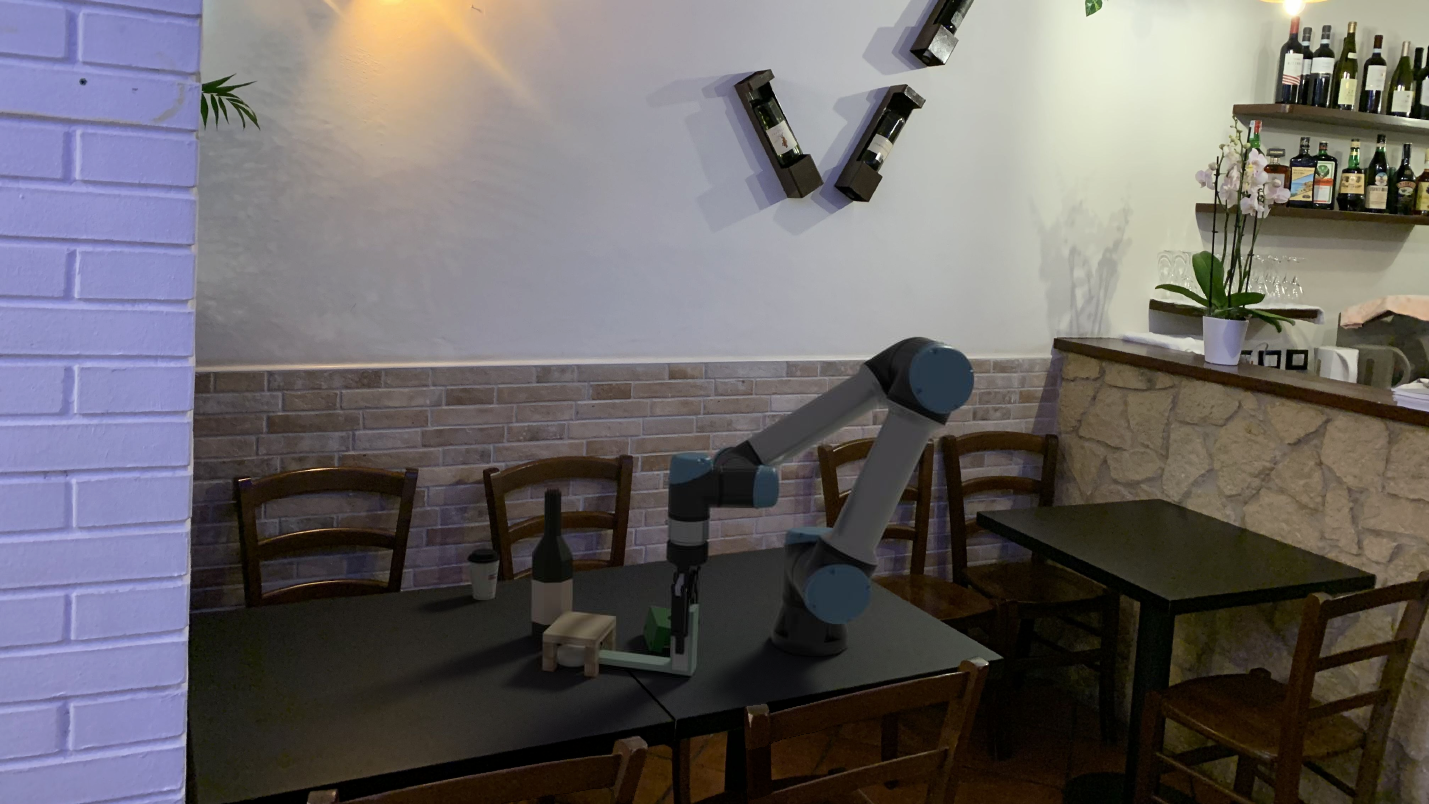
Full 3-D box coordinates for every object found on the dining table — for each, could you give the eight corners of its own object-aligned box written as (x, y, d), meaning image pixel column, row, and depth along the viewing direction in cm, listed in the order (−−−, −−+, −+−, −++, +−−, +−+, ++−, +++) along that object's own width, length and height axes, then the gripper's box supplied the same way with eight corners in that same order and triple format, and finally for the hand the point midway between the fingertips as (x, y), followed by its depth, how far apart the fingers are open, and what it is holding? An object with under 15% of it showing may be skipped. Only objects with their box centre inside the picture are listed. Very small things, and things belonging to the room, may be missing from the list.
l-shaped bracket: (696, 667, 196) (698, 604, 194) (691, 675, 192) (693, 611, 190) (591, 653, 200) (593, 592, 198) (584, 662, 196) (586, 599, 194)
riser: (615, 651, 203) (616, 616, 202) (595, 676, 192) (595, 639, 191) (565, 645, 205) (566, 610, 204) (542, 670, 194) (542, 633, 193)
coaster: (594, 656, 201) (594, 646, 201) (583, 668, 195) (583, 658, 195) (563, 652, 202) (564, 642, 202) (552, 664, 197) (552, 654, 196)
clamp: (673, 671, 206) (688, 638, 202) (643, 666, 205) (658, 632, 200) (671, 627, 216) (685, 595, 212) (643, 621, 215) (656, 588, 210)
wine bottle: (564, 647, 204) (566, 495, 199) (523, 643, 206) (524, 491, 201) (578, 632, 212) (580, 485, 208) (539, 627, 214) (540, 481, 209)
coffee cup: (462, 600, 228) (461, 555, 226) (474, 589, 235) (474, 545, 233) (493, 603, 227) (493, 557, 225) (505, 592, 233) (505, 548, 232)
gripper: (679, 525, 199) (674, 644, 203) (654, 551, 183) (650, 680, 187) (718, 529, 198) (713, 649, 202) (697, 555, 181) (692, 685, 185)
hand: (683, 663), depth 194 cm, fingers closed on l-shaped bracket, 4 cm apart
